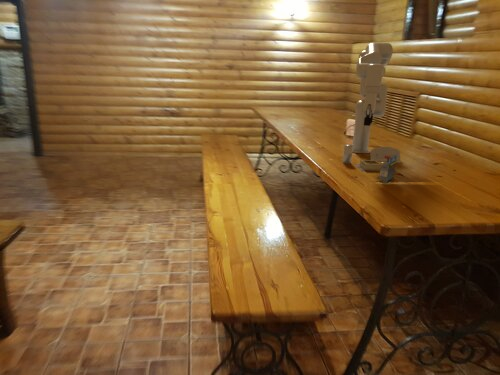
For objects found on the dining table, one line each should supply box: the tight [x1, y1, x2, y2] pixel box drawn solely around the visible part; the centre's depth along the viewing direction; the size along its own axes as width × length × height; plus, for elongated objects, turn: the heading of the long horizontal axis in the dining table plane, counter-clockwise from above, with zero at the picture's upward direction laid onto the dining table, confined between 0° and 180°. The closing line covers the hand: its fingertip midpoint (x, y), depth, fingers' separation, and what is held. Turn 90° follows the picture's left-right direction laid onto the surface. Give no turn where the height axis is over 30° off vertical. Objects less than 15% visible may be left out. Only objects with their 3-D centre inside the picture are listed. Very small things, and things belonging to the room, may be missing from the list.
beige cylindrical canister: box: [342, 143, 353, 165], centre depth 206 cm, size 4×4×11 cm
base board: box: [353, 163, 397, 173], centre depth 198 cm, size 14×18×1 cm
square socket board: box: [359, 155, 393, 171], centre depth 196 cm, size 8×16×7 cm, turn 93°
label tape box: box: [378, 155, 397, 184], centre depth 180 cm, size 9×4×12 cm, turn 141°
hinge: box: [369, 146, 402, 163], centre depth 214 cm, size 17×5×10 cm, turn 85°
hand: (367, 124), depth 195 cm, fingers open, 9 cm apart
